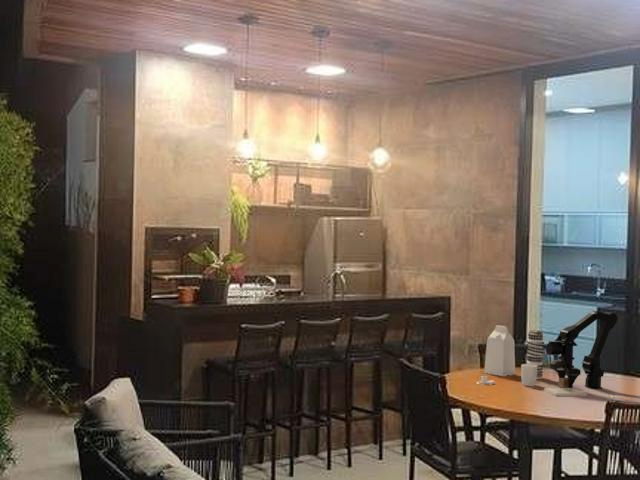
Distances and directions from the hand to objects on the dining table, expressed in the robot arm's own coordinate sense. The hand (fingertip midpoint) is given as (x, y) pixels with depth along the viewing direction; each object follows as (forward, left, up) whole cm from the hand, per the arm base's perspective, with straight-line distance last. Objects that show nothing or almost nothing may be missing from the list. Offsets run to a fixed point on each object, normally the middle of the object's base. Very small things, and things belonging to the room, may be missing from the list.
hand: (565, 385), depth 393 cm
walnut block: (0, 0, -1) cm, 1 cm away
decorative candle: (+4, -28, -1) cm, 28 cm away
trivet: (+6, +12, -1) cm, 13 cm away
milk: (+19, -39, -1) cm, 43 cm away
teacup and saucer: (+37, -9, -2) cm, 38 cm away
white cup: (+16, -8, -1) cm, 18 cm away
